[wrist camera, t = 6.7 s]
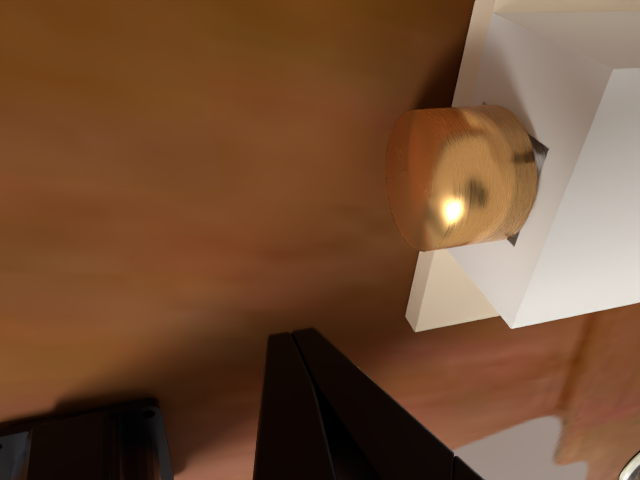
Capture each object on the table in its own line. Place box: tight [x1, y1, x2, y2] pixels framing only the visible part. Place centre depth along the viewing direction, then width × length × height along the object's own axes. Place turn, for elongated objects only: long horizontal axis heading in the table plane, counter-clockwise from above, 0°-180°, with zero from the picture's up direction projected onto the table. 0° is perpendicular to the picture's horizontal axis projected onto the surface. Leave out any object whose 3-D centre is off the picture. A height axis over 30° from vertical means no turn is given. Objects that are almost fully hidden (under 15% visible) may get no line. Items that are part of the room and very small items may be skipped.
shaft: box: [386, 105, 549, 252], centre depth 17 cm, size 4×14×4 cm, turn 86°
